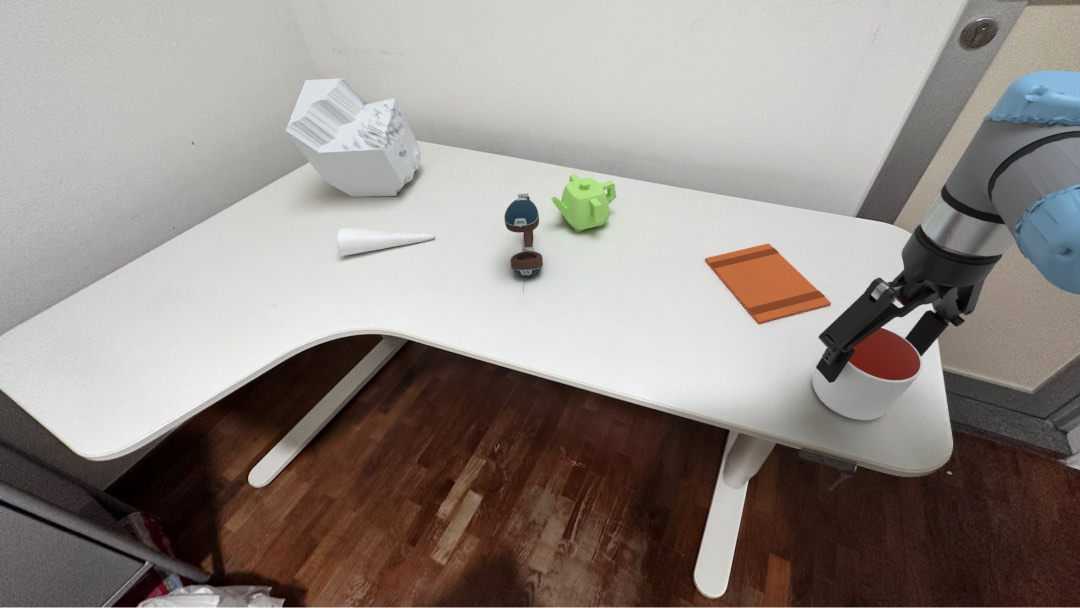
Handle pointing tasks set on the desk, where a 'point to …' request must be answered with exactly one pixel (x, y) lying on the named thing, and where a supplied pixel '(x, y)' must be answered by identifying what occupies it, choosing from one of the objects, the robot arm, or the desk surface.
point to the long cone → (374, 239)
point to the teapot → (585, 202)
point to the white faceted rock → (353, 139)
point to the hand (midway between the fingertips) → (868, 361)
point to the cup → (871, 377)
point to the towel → (766, 283)
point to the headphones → (524, 220)
